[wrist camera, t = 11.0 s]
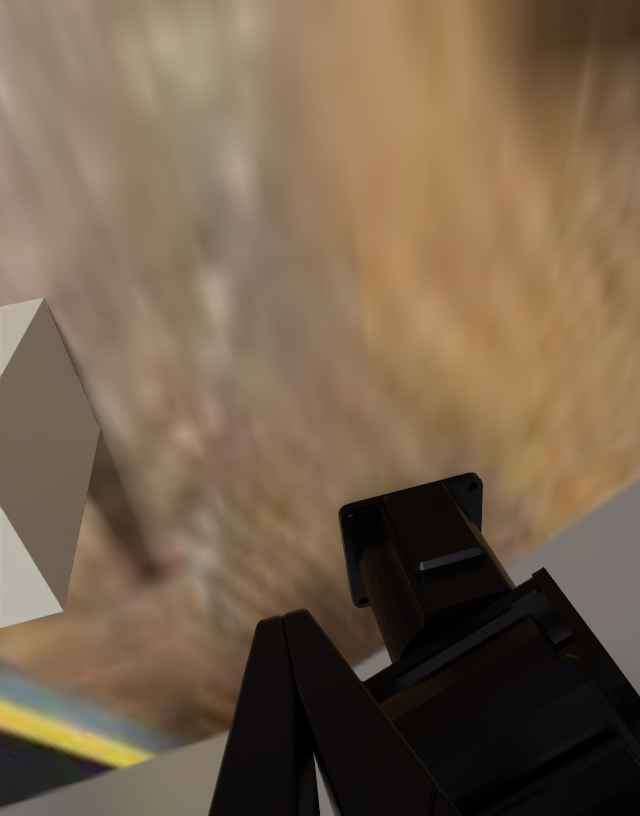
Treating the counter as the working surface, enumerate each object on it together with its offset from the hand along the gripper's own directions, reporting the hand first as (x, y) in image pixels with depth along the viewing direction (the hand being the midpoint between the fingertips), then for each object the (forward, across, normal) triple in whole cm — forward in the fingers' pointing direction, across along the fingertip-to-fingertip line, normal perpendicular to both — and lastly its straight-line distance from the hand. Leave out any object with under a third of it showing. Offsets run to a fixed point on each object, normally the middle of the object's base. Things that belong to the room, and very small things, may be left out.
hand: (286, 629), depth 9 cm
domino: (+12, +6, 0) cm, 13 cm away
